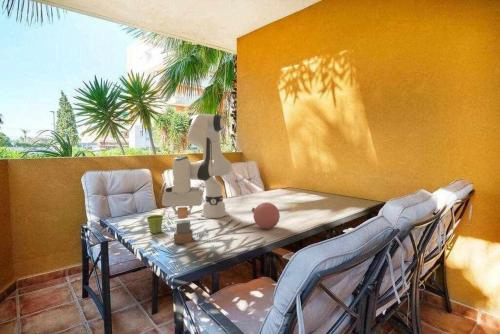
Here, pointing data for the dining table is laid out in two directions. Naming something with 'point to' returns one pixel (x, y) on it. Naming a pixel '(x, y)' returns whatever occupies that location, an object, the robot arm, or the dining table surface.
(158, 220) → the plant pot
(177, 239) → the tower base
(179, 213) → the terracotta cylinder
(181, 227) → the tower top
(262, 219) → the balloon
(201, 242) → the dining table surface
